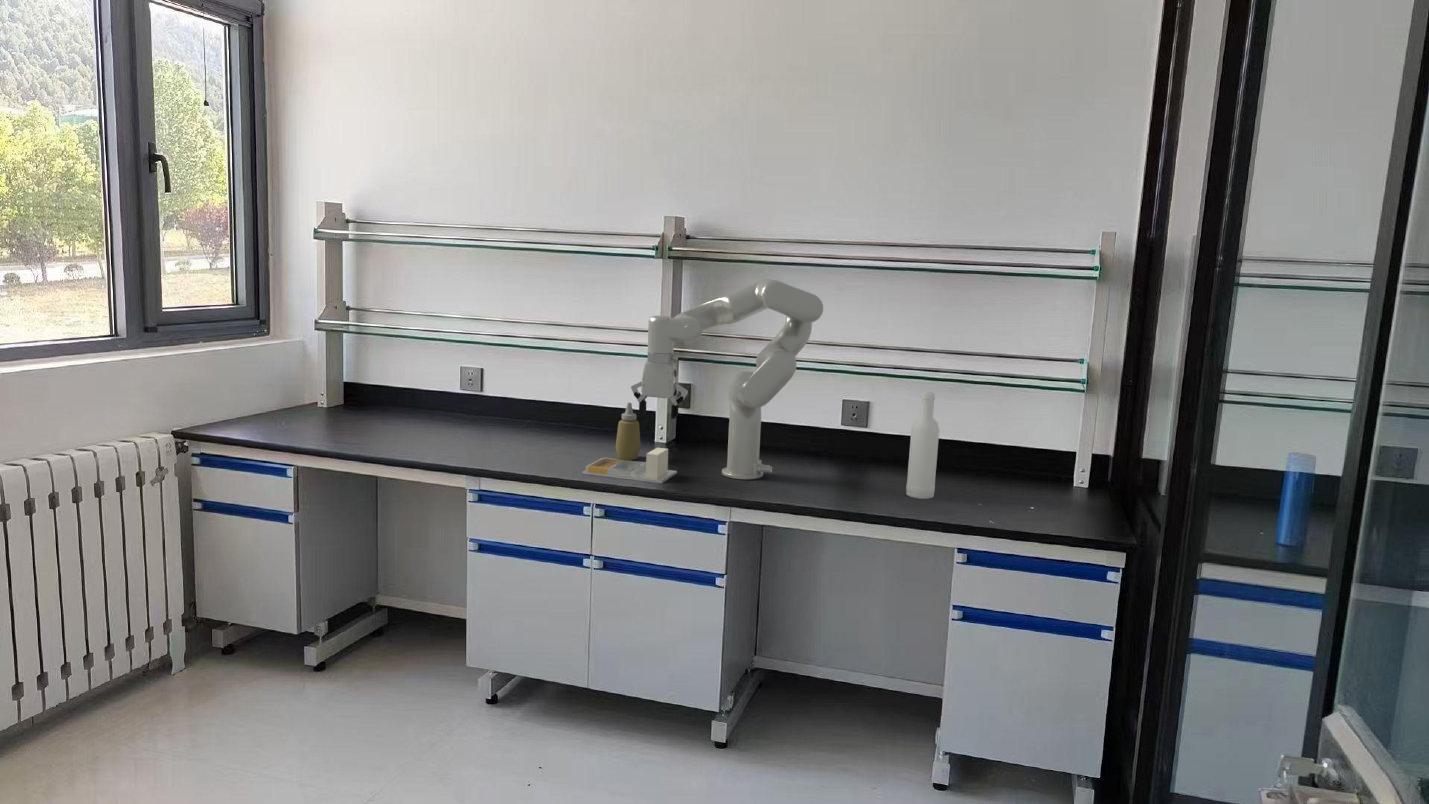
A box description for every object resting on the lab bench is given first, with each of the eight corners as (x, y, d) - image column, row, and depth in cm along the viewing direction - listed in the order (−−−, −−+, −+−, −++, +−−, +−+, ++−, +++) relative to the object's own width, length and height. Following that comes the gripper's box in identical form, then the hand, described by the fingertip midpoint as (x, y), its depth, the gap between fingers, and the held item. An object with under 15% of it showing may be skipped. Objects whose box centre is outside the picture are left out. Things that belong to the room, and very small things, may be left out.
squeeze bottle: (636, 462, 300) (638, 405, 297) (611, 460, 301) (613, 403, 298) (643, 456, 308) (645, 401, 305) (619, 454, 309) (620, 399, 306)
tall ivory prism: (667, 471, 287) (668, 448, 285) (657, 478, 278) (657, 454, 277) (656, 470, 288) (657, 447, 286) (645, 477, 279) (646, 453, 278)
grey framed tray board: (676, 473, 288) (676, 465, 288) (661, 483, 276) (662, 475, 275) (600, 464, 295) (600, 456, 295) (582, 473, 283) (582, 465, 282)
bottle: (916, 500, 270) (924, 395, 265) (900, 492, 277) (908, 390, 272) (939, 498, 273) (948, 394, 268) (923, 491, 280) (931, 390, 275)
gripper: (692, 359, 278) (690, 417, 281) (637, 354, 283) (635, 411, 286) (684, 362, 271) (682, 421, 274) (627, 357, 276) (626, 415, 279)
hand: (658, 416), depth 280 cm, fingers open, 9 cm apart
